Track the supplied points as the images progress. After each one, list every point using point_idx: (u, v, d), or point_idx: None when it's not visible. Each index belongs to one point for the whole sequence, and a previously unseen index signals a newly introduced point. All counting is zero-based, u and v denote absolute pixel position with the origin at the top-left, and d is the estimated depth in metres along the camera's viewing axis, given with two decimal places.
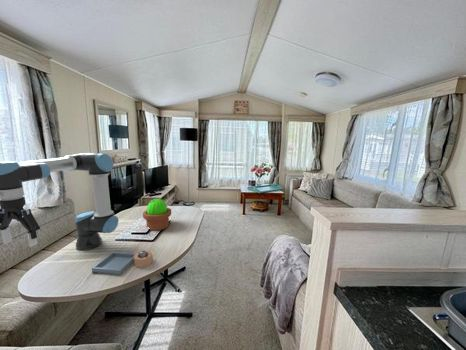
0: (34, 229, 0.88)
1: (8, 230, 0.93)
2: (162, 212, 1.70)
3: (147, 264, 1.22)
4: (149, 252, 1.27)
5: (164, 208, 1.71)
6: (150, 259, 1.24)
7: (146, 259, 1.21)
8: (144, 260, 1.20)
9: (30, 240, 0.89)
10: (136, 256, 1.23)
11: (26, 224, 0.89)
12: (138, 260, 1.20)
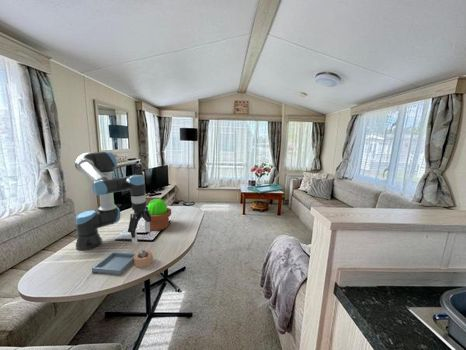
0: (128, 231, 1.11)
1: (148, 223, 1.27)
2: (162, 212, 1.70)
3: (147, 264, 1.22)
4: (149, 252, 1.27)
5: (164, 208, 1.71)
6: (150, 259, 1.24)
7: (146, 259, 1.21)
8: (144, 260, 1.20)
9: (132, 237, 1.15)
10: (136, 256, 1.23)
11: None
12: (138, 260, 1.20)
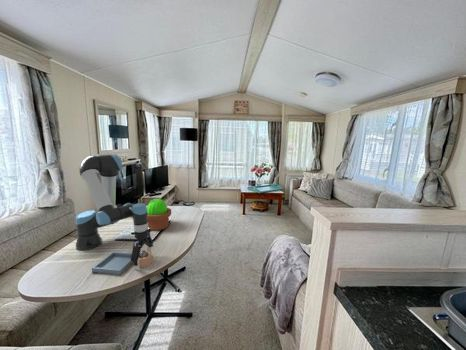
0: (131, 259, 1.14)
1: (149, 248, 1.30)
2: (162, 212, 1.70)
3: (147, 264, 1.22)
4: (149, 252, 1.27)
5: (164, 208, 1.71)
6: (150, 259, 1.24)
7: (146, 259, 1.21)
8: (144, 260, 1.20)
9: None
10: None
11: None
12: None
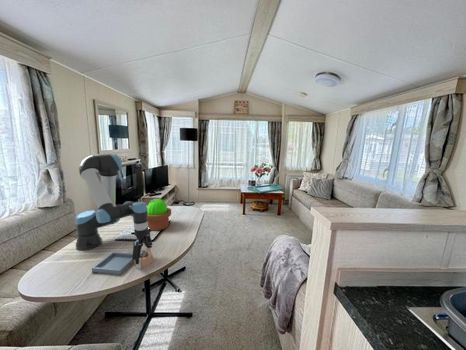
0: (132, 258, 1.16)
1: (148, 250, 1.29)
2: (162, 212, 1.70)
3: (147, 264, 1.22)
4: (149, 252, 1.27)
5: (164, 208, 1.71)
6: (150, 259, 1.24)
7: (146, 259, 1.21)
8: (144, 260, 1.20)
9: (136, 263, 1.19)
10: None
11: None
12: None
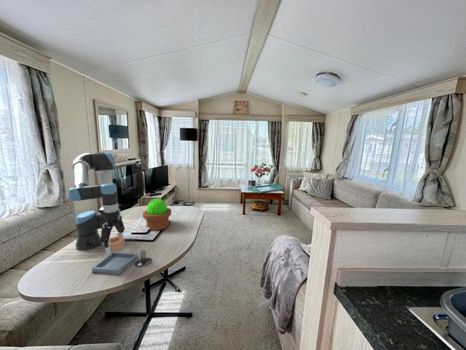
0: (101, 241, 1.12)
1: (120, 234, 1.25)
2: (162, 212, 1.70)
3: (118, 249, 1.18)
4: (121, 237, 1.23)
5: (164, 208, 1.71)
6: (121, 244, 1.20)
7: (117, 244, 1.17)
8: (114, 245, 1.16)
9: None
10: None
11: None
12: None
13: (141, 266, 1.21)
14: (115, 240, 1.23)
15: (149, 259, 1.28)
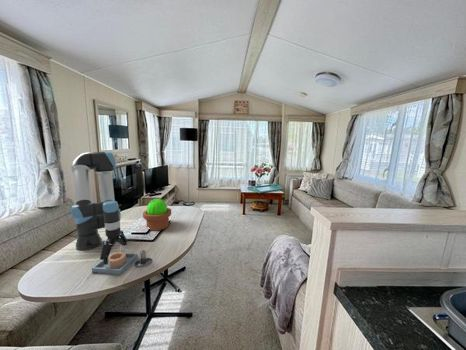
0: (100, 258, 1.12)
1: (123, 247, 1.28)
2: (162, 212, 1.70)
3: (119, 266, 1.20)
4: (123, 253, 1.25)
5: (164, 208, 1.71)
6: (123, 260, 1.21)
7: (118, 260, 1.19)
8: (116, 261, 1.18)
9: (105, 264, 1.16)
10: (108, 257, 1.21)
11: None
12: (110, 261, 1.18)
13: (141, 266, 1.21)
14: (117, 256, 1.25)
15: (149, 259, 1.28)
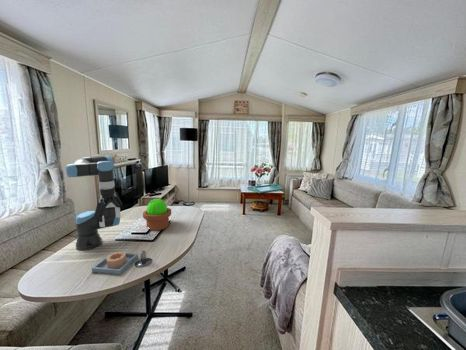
0: (95, 215, 1.14)
1: (118, 209, 1.30)
2: (162, 212, 1.70)
3: (119, 266, 1.20)
4: (123, 253, 1.25)
5: (164, 208, 1.71)
6: (123, 260, 1.21)
7: (118, 260, 1.19)
8: (116, 261, 1.18)
9: None
10: (108, 257, 1.21)
11: None
12: (110, 261, 1.18)
13: (141, 266, 1.21)
14: (117, 256, 1.25)
15: (149, 259, 1.28)
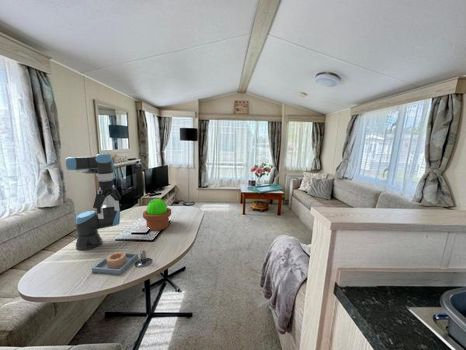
0: (93, 206, 1.15)
1: (116, 202, 1.31)
2: (162, 212, 1.70)
3: (119, 266, 1.20)
4: (123, 253, 1.25)
5: (164, 208, 1.71)
6: (123, 260, 1.21)
7: (118, 260, 1.19)
8: (116, 261, 1.18)
9: (98, 213, 1.19)
10: (108, 257, 1.21)
11: None
12: (110, 261, 1.18)
13: (141, 266, 1.21)
14: (117, 256, 1.25)
15: (149, 259, 1.28)
